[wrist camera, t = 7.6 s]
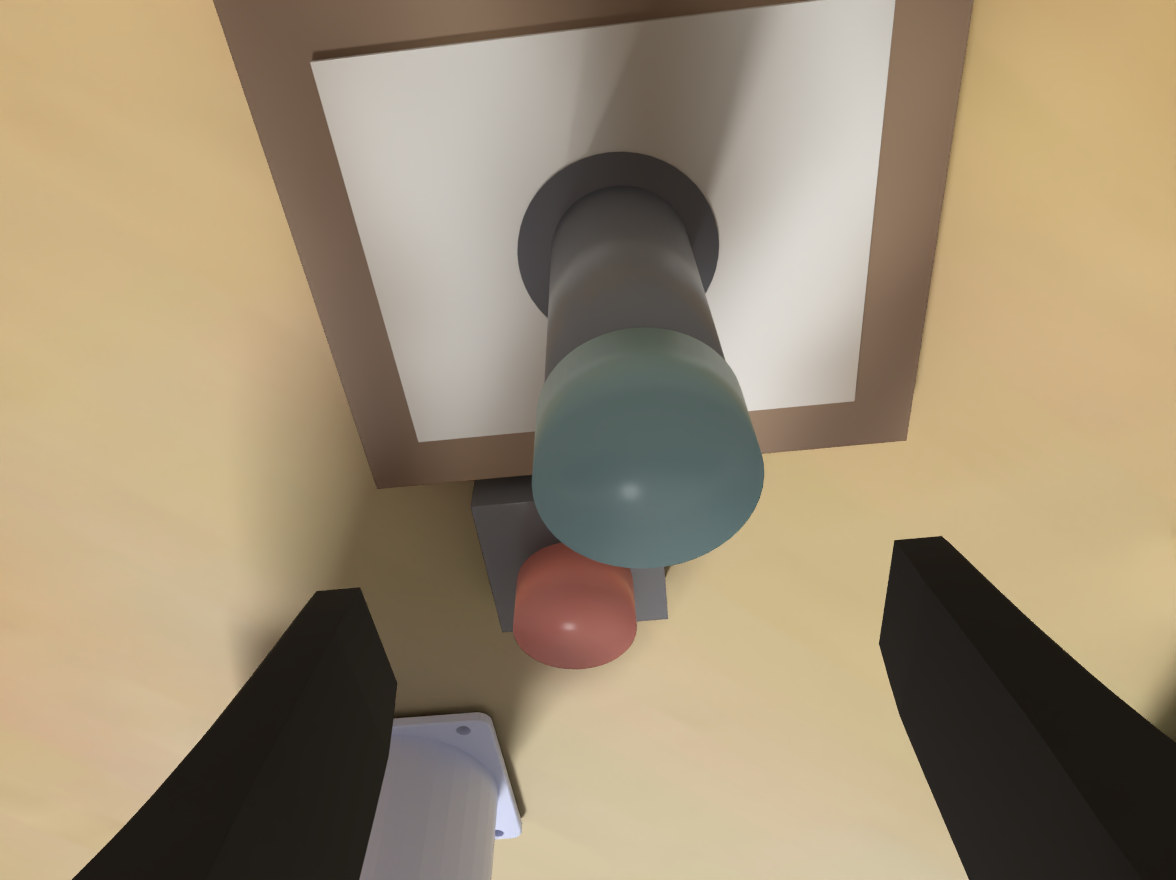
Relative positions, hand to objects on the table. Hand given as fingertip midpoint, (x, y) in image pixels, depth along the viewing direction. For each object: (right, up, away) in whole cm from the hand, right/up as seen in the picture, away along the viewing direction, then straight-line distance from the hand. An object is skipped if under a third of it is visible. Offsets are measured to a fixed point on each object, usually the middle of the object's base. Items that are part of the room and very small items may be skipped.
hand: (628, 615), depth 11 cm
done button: (-1, -2, +11) cm, 11 cm away
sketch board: (0, +7, +7) cm, 10 cm away
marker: (0, +6, +6) cm, 9 cm away
